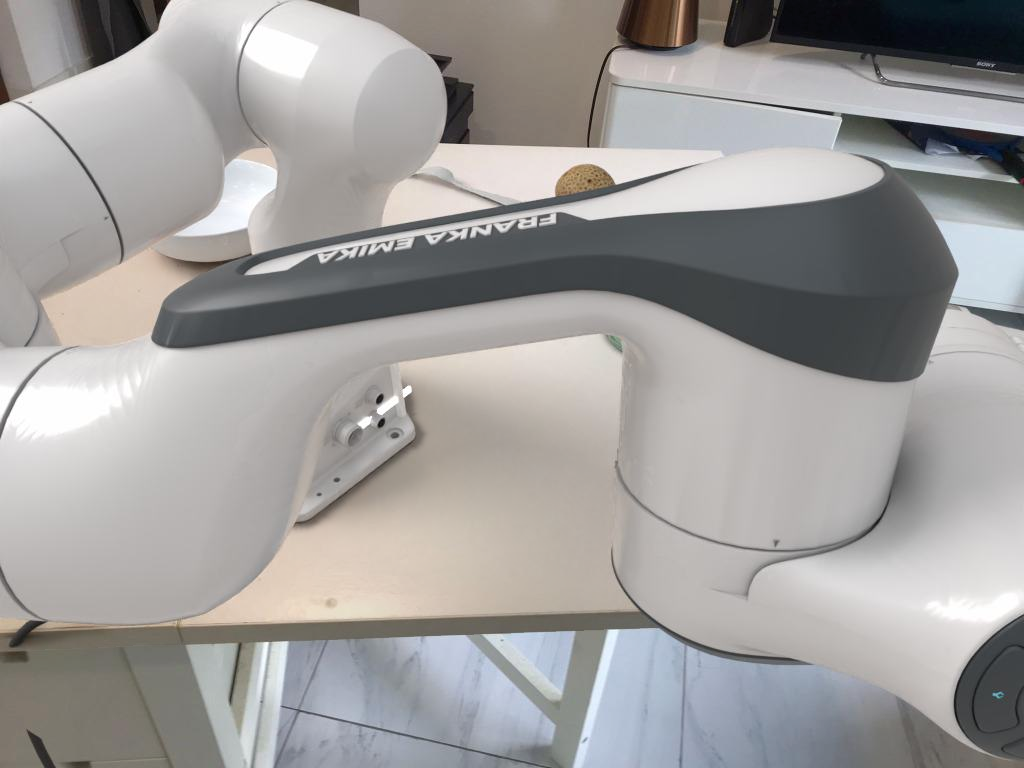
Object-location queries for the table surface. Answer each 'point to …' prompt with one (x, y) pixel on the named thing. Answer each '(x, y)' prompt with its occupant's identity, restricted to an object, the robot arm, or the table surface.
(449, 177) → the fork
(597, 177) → the natural sponge
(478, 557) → the table surface
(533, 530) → the table surface
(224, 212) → the serving bowl
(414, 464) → the table surface
